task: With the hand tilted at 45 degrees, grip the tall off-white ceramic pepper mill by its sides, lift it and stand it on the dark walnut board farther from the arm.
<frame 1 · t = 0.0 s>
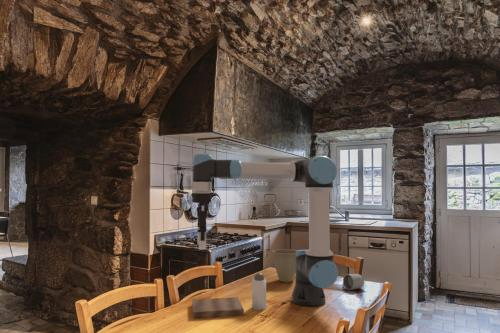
hand: (201, 246, 141), 28 cm above the table, tool pointing down, fingers open, 13 cm apart
plant pot: (286, 280, 197), on the table
ceramic mug: (351, 288, 183), on the table
walnut board: (217, 310, 149), on the table
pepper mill: (259, 307, 152), on the table
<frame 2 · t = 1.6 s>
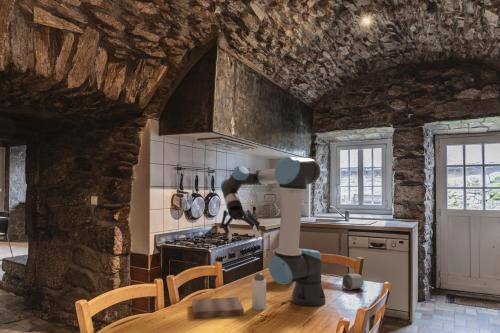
hand: (244, 238, 167), 28 cm above the table, tool tilted 45°, fingers open, 13 cm apart
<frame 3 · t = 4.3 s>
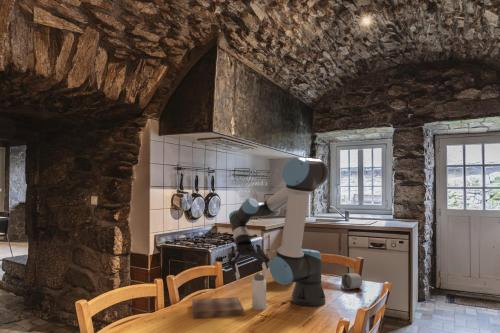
hand: (252, 277, 158), 12 cm above the table, tool tilted 45°, fingers open, 13 cm apart
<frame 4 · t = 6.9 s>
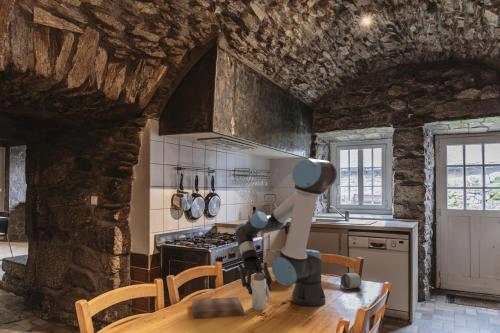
hand: (262, 299, 149), 4 cm above the table, tool tilted 45°, fingers closed on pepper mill, 6 cm apart
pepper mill: (259, 307, 152), on the table, touching gripper
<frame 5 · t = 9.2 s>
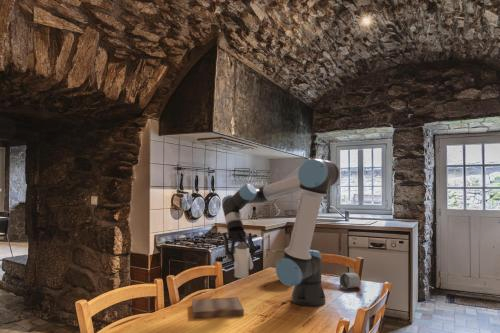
hand: (244, 267, 151), 17 cm above the table, tool tilted 45°, fingers closed on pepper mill, 6 cm apart
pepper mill: (241, 276, 154), point 13 cm above the table, touching gripper
when the fingers open (8 cm above the table, at t = 11.7 s): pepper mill drops 1 cm, resting on walnut board.
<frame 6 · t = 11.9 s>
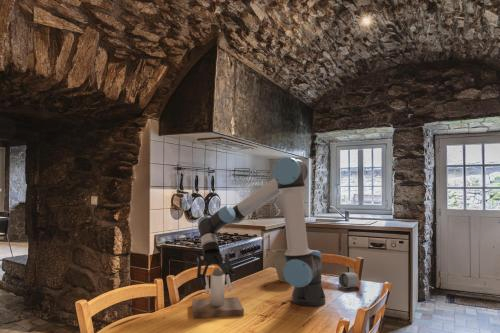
hand: (219, 291, 147), 9 cm above the table, tool tilted 45°, fingers open, 9 cm apart
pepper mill: (217, 303, 149), point 3 cm above the table, touching walnut board
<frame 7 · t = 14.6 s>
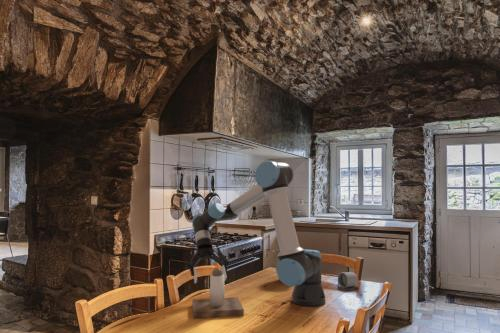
hand: (210, 280, 159), 10 cm above the table, tool tilted 45°, fingers open, 13 cm apart
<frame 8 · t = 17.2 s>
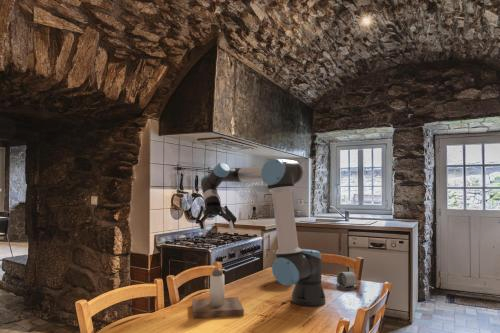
hand: (219, 233, 168), 30 cm above the table, tool tilted 45°, fingers open, 13 cm apart
at the end: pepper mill inside the target area on the walnut board (0.1 cm from its centre), point 2.5 cm above the walnut board's base; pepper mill tilted 0°; the gripper is holding nothing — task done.
